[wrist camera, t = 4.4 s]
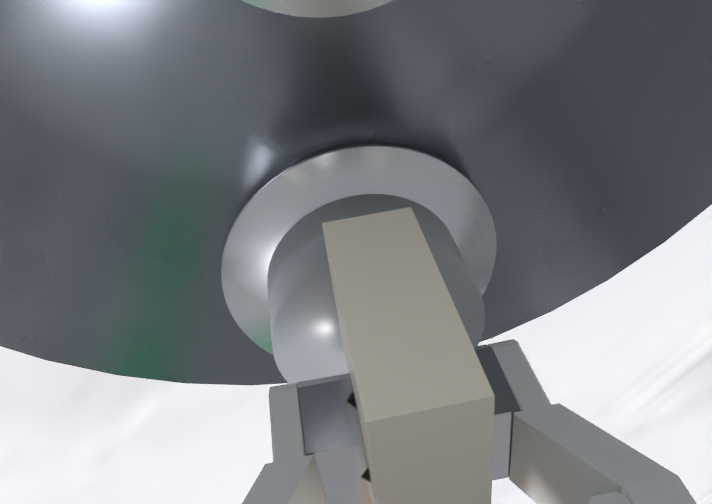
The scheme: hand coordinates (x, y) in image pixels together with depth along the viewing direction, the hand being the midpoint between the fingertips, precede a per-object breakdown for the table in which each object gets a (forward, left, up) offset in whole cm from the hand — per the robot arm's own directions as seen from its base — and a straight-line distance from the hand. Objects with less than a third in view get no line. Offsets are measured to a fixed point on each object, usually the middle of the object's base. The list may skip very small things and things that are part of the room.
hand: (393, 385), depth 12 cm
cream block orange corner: (0, 0, -3) cm, 3 cm away
